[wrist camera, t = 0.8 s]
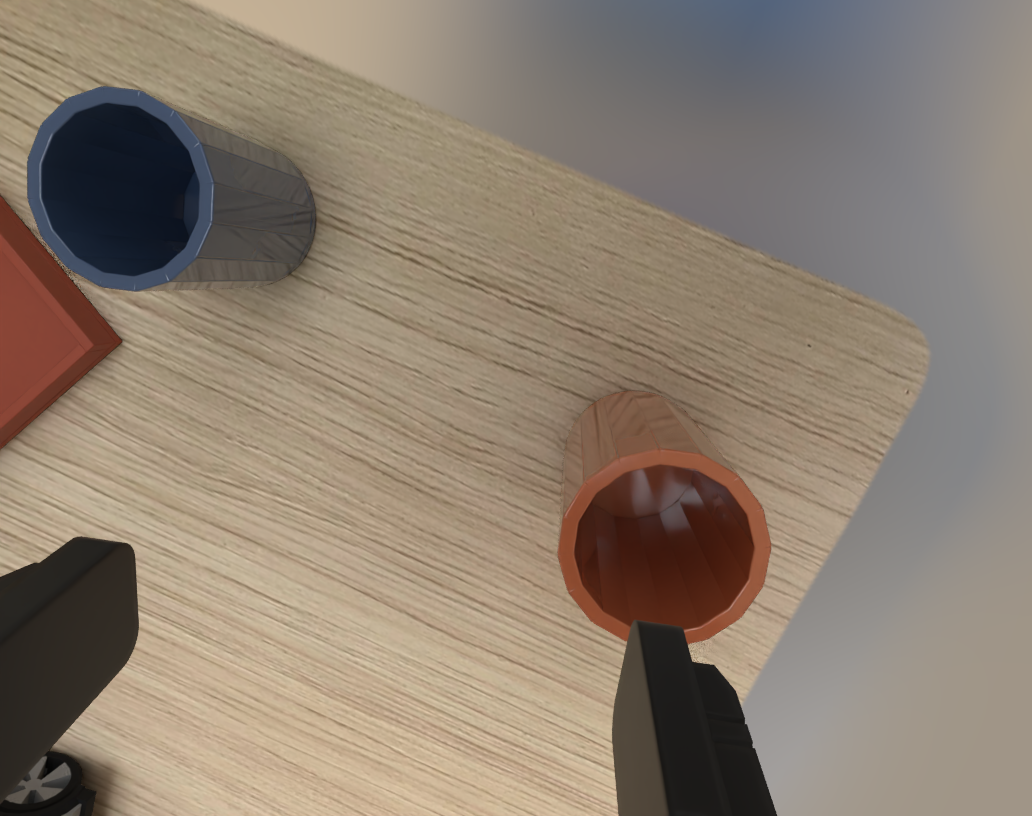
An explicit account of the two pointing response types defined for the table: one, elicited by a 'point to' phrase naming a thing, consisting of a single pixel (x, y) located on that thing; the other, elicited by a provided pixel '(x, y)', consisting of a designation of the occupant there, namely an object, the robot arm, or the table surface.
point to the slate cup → (164, 197)
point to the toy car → (50, 790)
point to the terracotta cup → (656, 521)
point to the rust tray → (40, 328)
